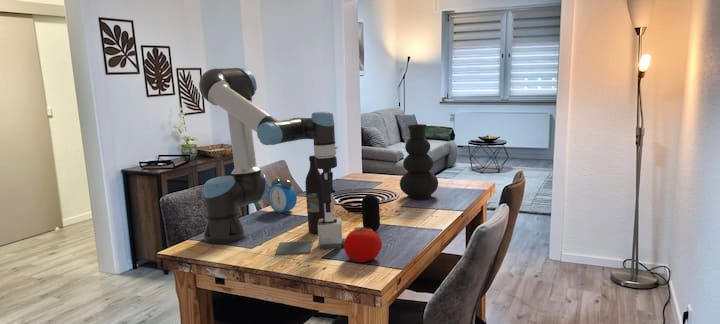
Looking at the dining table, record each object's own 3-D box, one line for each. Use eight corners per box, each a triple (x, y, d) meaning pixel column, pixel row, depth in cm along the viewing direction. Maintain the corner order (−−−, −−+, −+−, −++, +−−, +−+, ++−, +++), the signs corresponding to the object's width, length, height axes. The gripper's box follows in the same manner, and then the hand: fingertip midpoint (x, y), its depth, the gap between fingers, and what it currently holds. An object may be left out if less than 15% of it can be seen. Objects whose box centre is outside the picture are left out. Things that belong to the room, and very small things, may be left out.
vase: (444, 194, 248) (442, 123, 242) (428, 203, 233) (426, 127, 227) (410, 191, 258) (408, 123, 252) (393, 200, 243) (390, 127, 237)
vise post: (320, 249, 177) (318, 219, 175) (321, 242, 185) (319, 213, 183) (373, 247, 177) (372, 216, 175) (372, 239, 185) (371, 210, 183)
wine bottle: (306, 230, 201) (301, 155, 196) (323, 227, 203) (318, 153, 199) (311, 235, 194) (306, 158, 189) (329, 232, 197) (324, 156, 192)
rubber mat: (275, 255, 174) (274, 253, 174) (279, 244, 186) (279, 242, 186) (309, 253, 174) (309, 251, 174) (312, 242, 186) (312, 240, 186)
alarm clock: (268, 211, 234) (265, 179, 231) (278, 208, 239) (275, 177, 236) (288, 214, 226) (286, 181, 224) (298, 211, 231) (296, 179, 228)
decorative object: (378, 229, 198) (376, 191, 195) (382, 234, 191) (380, 195, 189) (361, 230, 197) (359, 193, 194) (364, 235, 190) (362, 196, 188)
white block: (318, 244, 177) (317, 225, 176) (320, 237, 185) (319, 218, 184) (341, 243, 177) (340, 223, 176) (342, 236, 185) (341, 217, 184)
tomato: (350, 253, 173) (349, 223, 171) (385, 254, 169) (384, 224, 167) (340, 265, 162) (338, 233, 160) (377, 267, 158) (375, 234, 157)
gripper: (335, 161, 164) (339, 224, 167) (337, 151, 188) (341, 206, 191) (311, 162, 164) (317, 226, 167) (317, 152, 188) (321, 208, 191)
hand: (330, 216), depth 179 cm, fingers open, 13 cm apart
